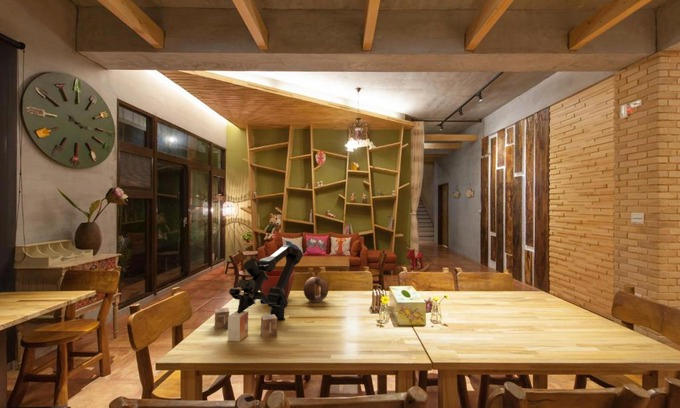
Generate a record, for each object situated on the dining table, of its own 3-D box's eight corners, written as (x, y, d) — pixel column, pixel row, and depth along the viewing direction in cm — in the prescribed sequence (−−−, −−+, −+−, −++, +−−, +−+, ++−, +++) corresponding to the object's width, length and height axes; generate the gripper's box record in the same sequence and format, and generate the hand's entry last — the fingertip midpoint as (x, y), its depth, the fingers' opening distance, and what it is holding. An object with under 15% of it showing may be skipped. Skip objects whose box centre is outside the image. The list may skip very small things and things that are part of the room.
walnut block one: (274, 331, 151) (274, 314, 152) (276, 336, 146) (277, 318, 146) (260, 333, 149) (261, 315, 149) (263, 338, 143) (263, 320, 144)
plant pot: (289, 305, 192) (289, 276, 192) (256, 304, 192) (257, 275, 193) (294, 296, 211) (294, 270, 212) (264, 296, 212) (264, 269, 212)
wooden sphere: (306, 297, 209) (307, 274, 210) (330, 299, 207) (330, 275, 208) (300, 304, 195) (301, 279, 195) (325, 306, 192) (326, 280, 193)
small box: (239, 342, 139) (239, 317, 139) (227, 340, 140) (227, 316, 140) (248, 334, 147) (248, 311, 147) (236, 333, 148) (237, 310, 148)
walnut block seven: (227, 324, 160) (228, 307, 160) (228, 328, 154) (229, 311, 154) (214, 325, 158) (215, 308, 158) (215, 330, 152) (215, 312, 152)
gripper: (232, 270, 153) (212, 299, 143) (264, 274, 145) (246, 306, 134) (243, 284, 160) (225, 313, 149) (275, 288, 152) (258, 320, 141)
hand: (238, 312), depth 144 cm, fingers closed, pressing on small box
